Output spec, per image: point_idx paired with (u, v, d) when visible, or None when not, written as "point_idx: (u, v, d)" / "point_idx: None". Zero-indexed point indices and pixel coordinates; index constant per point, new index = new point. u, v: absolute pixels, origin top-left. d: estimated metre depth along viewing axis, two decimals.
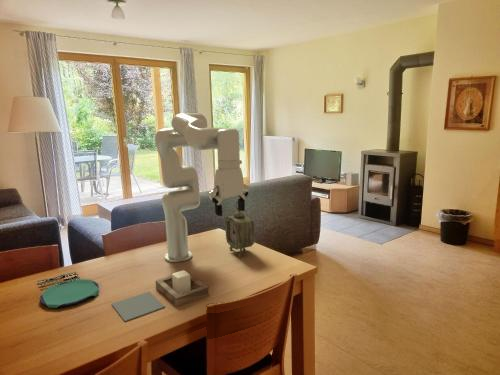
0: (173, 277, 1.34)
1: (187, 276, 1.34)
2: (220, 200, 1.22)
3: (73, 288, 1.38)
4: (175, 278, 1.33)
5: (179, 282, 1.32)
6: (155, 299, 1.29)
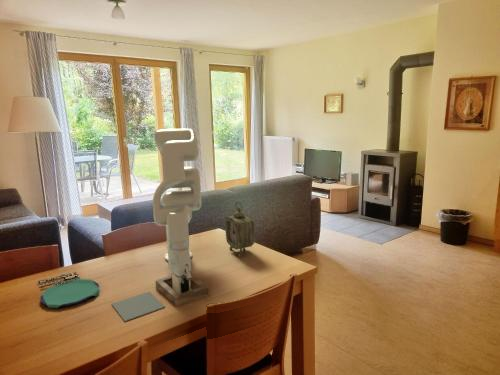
0: (173, 277, 1.34)
1: None
2: None
3: (73, 288, 1.38)
4: (175, 278, 1.33)
5: (179, 282, 1.32)
6: (155, 299, 1.29)
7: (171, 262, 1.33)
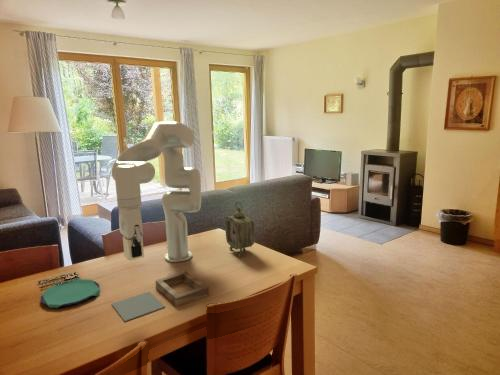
0: (124, 240, 1.20)
1: None
2: None
3: (74, 288, 1.38)
4: (125, 241, 1.19)
5: (130, 245, 1.18)
6: (155, 299, 1.29)
7: (121, 223, 1.19)
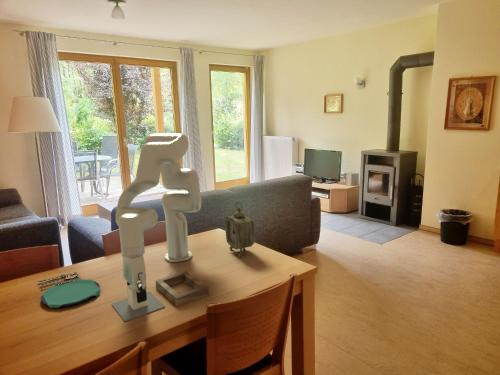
0: (128, 290, 1.24)
1: None
2: None
3: (74, 288, 1.38)
4: (129, 291, 1.23)
5: (134, 295, 1.22)
6: (155, 299, 1.29)
7: (125, 270, 1.23)
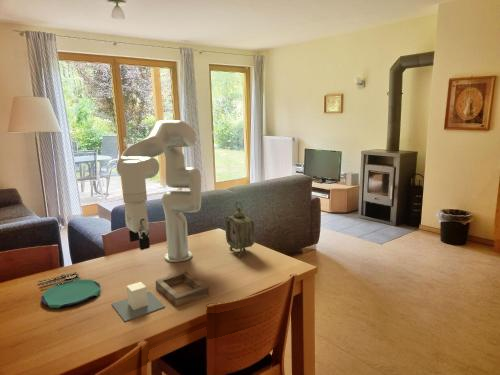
0: (128, 290, 1.24)
1: (143, 289, 1.23)
2: None
3: (74, 288, 1.38)
4: (129, 291, 1.23)
5: (134, 295, 1.22)
6: (155, 299, 1.29)
7: (127, 218, 1.22)
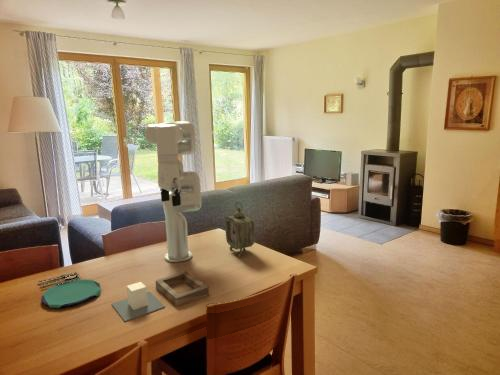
0: (128, 290, 1.24)
1: (143, 289, 1.23)
2: None
3: (74, 288, 1.38)
4: (129, 291, 1.23)
5: (134, 295, 1.22)
6: (155, 299, 1.29)
7: (160, 178, 1.35)
